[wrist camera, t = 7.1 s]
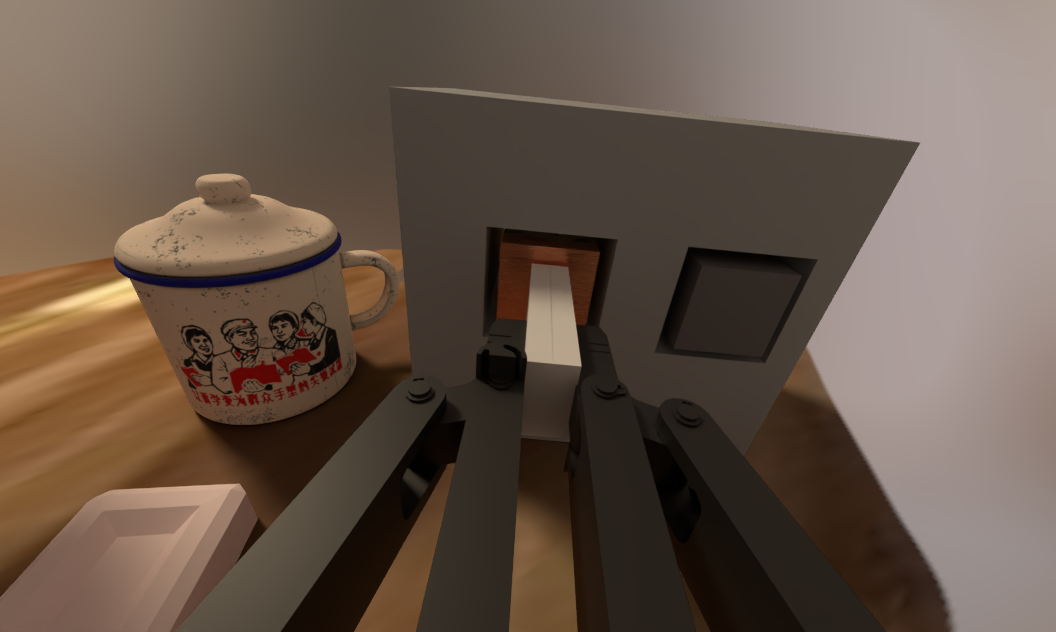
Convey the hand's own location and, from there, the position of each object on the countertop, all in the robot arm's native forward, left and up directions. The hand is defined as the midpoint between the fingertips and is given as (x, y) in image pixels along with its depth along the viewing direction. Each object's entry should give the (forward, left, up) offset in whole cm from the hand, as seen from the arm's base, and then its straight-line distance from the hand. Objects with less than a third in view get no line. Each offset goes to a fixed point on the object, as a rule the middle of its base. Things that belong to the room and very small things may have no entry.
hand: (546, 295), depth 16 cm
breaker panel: (+3, +5, -9) cm, 11 cm away
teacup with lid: (-14, +4, -9) cm, 17 cm away
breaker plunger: (0, +5, -2) cm, 6 cm away
